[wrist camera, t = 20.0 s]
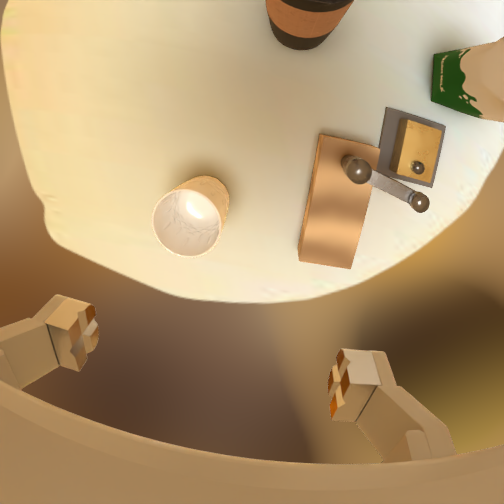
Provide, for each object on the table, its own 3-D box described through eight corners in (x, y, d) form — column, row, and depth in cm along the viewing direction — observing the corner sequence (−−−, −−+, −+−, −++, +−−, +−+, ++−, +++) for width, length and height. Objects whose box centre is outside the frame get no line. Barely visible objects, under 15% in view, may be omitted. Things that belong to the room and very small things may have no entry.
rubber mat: (386, 107, 36) (387, 107, 36) (443, 125, 36) (445, 126, 35) (373, 172, 40) (374, 173, 39) (430, 186, 40) (432, 188, 39)
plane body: (319, 133, 39) (327, 138, 32) (371, 145, 38) (387, 152, 32) (297, 248, 45) (300, 271, 39) (345, 256, 45) (354, 279, 39)
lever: (339, 173, 34) (345, 180, 31) (348, 151, 33) (355, 156, 29) (411, 208, 34) (423, 218, 31) (421, 188, 33) (433, 196, 30)
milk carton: (475, 121, 35) (573, 143, 17) (423, 105, 35) (516, 113, 17) (479, 65, 31) (575, 60, 13) (427, 46, 32) (516, 19, 14)
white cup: (228, 166, 41) (214, 183, 32) (238, 223, 45) (227, 254, 36) (172, 175, 42) (144, 195, 33) (183, 229, 46) (160, 261, 37)
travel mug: (277, -7, 31) (275, -86, 13) (336, 10, 31) (378, -57, 13) (262, 43, 34) (246, -12, 16) (321, 60, 35) (357, 19, 16)
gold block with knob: (399, 118, 36) (410, 119, 33) (432, 129, 36) (444, 131, 32) (389, 169, 39) (398, 175, 36) (421, 177, 39) (432, 184, 35)
